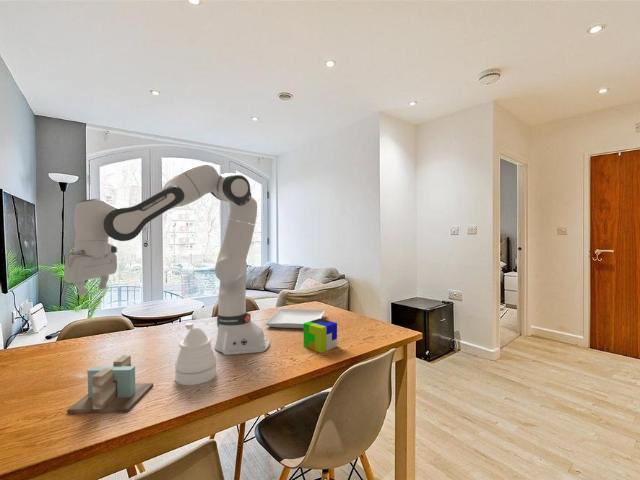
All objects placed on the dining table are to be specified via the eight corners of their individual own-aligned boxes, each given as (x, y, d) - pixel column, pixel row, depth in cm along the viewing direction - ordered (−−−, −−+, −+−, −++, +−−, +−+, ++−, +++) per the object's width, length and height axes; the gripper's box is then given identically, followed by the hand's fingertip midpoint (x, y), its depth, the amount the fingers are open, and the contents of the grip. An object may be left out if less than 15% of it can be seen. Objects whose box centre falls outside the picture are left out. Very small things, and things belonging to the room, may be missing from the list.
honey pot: (175, 388, 99) (174, 331, 98) (175, 371, 111) (175, 320, 110) (218, 380, 104) (217, 326, 103) (214, 364, 116) (213, 316, 115)
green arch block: (135, 392, 94) (134, 366, 94) (130, 397, 92) (130, 370, 91) (94, 393, 94) (93, 366, 93) (88, 397, 91) (87, 370, 91)
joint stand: (153, 386, 100) (152, 355, 100) (128, 412, 86) (127, 375, 86) (101, 387, 99) (100, 355, 99) (67, 413, 85) (66, 376, 85)
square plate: (278, 314, 184) (278, 308, 184) (325, 316, 180) (325, 309, 180) (264, 329, 157) (264, 321, 157) (319, 332, 153) (319, 324, 153)
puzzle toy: (337, 346, 134) (337, 323, 134) (320, 353, 127) (320, 328, 127) (319, 340, 141) (319, 318, 141) (303, 346, 134) (303, 323, 133)
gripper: (78, 251, 92) (80, 299, 93) (120, 247, 113) (121, 286, 113) (56, 251, 92) (57, 299, 93) (102, 247, 112) (103, 286, 113)
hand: (93, 291), depth 103 cm, fingers open, 8 cm apart
